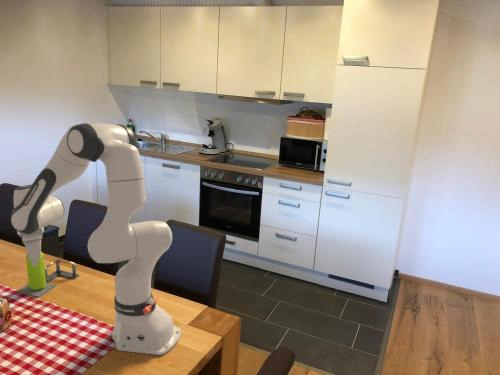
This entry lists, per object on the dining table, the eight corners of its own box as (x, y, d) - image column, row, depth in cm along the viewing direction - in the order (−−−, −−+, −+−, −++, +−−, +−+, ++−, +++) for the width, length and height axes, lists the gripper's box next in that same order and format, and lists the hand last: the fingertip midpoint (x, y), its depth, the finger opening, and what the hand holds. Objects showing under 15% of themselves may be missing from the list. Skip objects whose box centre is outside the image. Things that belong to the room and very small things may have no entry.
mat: (55, 286, 164) (55, 284, 164) (38, 297, 156) (38, 296, 156) (35, 281, 167) (34, 279, 167) (17, 292, 158) (16, 290, 158)
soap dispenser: (23, 288, 158) (17, 240, 153) (38, 280, 165) (33, 233, 159) (35, 292, 156) (29, 243, 151) (49, 283, 163) (45, 236, 157)
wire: (79, 275, 173) (78, 261, 171) (63, 286, 164) (62, 271, 162) (58, 271, 175) (56, 257, 173) (41, 281, 167) (40, 266, 165)
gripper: (19, 219, 161) (22, 251, 165) (22, 239, 144) (26, 274, 148) (37, 216, 164) (40, 248, 168) (42, 236, 147) (46, 271, 151)
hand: (34, 261), depth 158 cm, fingers closed on soap dispenser, 6 cm apart
